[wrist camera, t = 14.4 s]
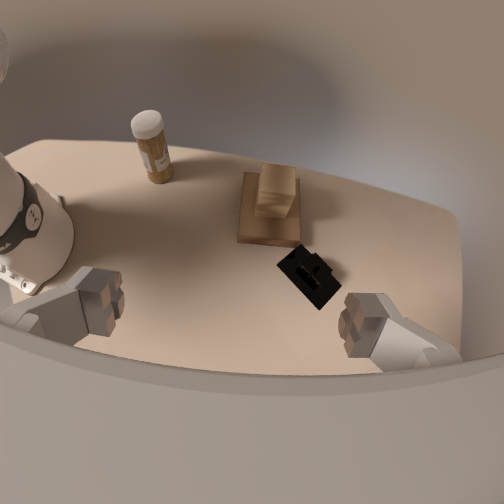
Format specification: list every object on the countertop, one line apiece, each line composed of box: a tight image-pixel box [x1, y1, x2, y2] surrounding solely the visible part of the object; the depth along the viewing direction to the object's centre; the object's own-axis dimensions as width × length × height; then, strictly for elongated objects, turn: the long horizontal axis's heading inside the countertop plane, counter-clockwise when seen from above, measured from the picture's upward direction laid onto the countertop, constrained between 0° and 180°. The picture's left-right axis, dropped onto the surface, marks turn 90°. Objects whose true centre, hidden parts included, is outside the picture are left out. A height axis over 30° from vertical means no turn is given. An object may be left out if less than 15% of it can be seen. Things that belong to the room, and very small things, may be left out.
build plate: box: [277, 244, 342, 310], centre depth 42 cm, size 12×7×5 cm, turn 43°
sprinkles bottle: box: [131, 110, 173, 184], centre depth 41 cm, size 5×5×14 cm
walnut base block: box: [237, 172, 300, 248], centre depth 45 cm, size 9×11×3 cm
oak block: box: [255, 163, 296, 219], centre depth 41 cm, size 4×4×7 cm
